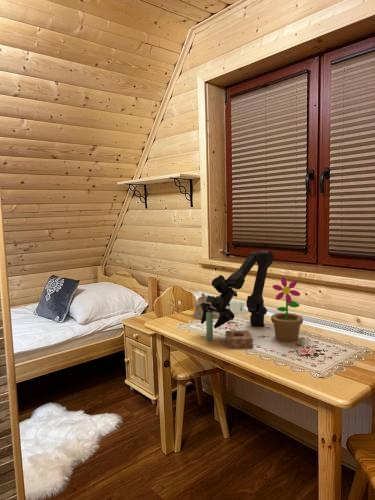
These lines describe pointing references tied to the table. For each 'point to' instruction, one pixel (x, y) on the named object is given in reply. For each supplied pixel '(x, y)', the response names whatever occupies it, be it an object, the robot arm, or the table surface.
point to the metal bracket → (237, 308)
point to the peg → (209, 326)
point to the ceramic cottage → (199, 311)
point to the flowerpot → (286, 315)
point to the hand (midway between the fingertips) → (207, 325)
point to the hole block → (239, 339)
